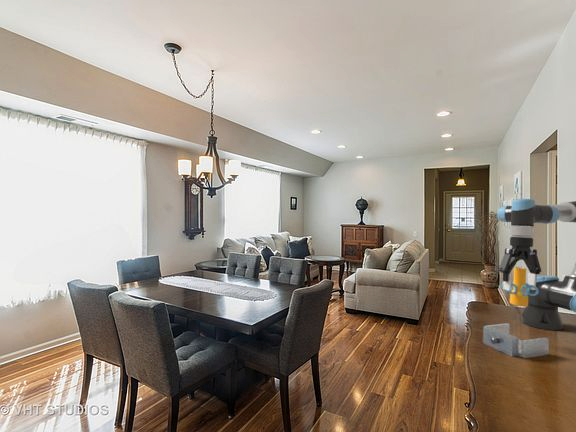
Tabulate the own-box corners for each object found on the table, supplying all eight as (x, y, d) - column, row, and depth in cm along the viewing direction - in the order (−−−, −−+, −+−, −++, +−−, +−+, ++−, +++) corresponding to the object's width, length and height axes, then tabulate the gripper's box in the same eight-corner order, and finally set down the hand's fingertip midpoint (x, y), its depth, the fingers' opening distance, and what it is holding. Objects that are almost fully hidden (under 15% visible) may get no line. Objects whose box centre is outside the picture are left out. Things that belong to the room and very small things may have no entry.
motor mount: (507, 337, 128) (507, 322, 128) (548, 354, 113) (548, 337, 113) (474, 341, 124) (475, 325, 124) (513, 359, 108) (513, 341, 108)
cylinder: (542, 310, 117) (543, 271, 117) (511, 307, 119) (513, 269, 119) (525, 301, 129) (526, 266, 129) (497, 299, 131) (499, 264, 131)
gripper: (535, 236, 131) (532, 286, 131) (489, 235, 125) (487, 287, 125) (554, 238, 123) (551, 291, 123) (506, 236, 118) (504, 292, 118)
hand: (519, 289), depth 124 cm, fingers closed on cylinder, 12 cm apart
